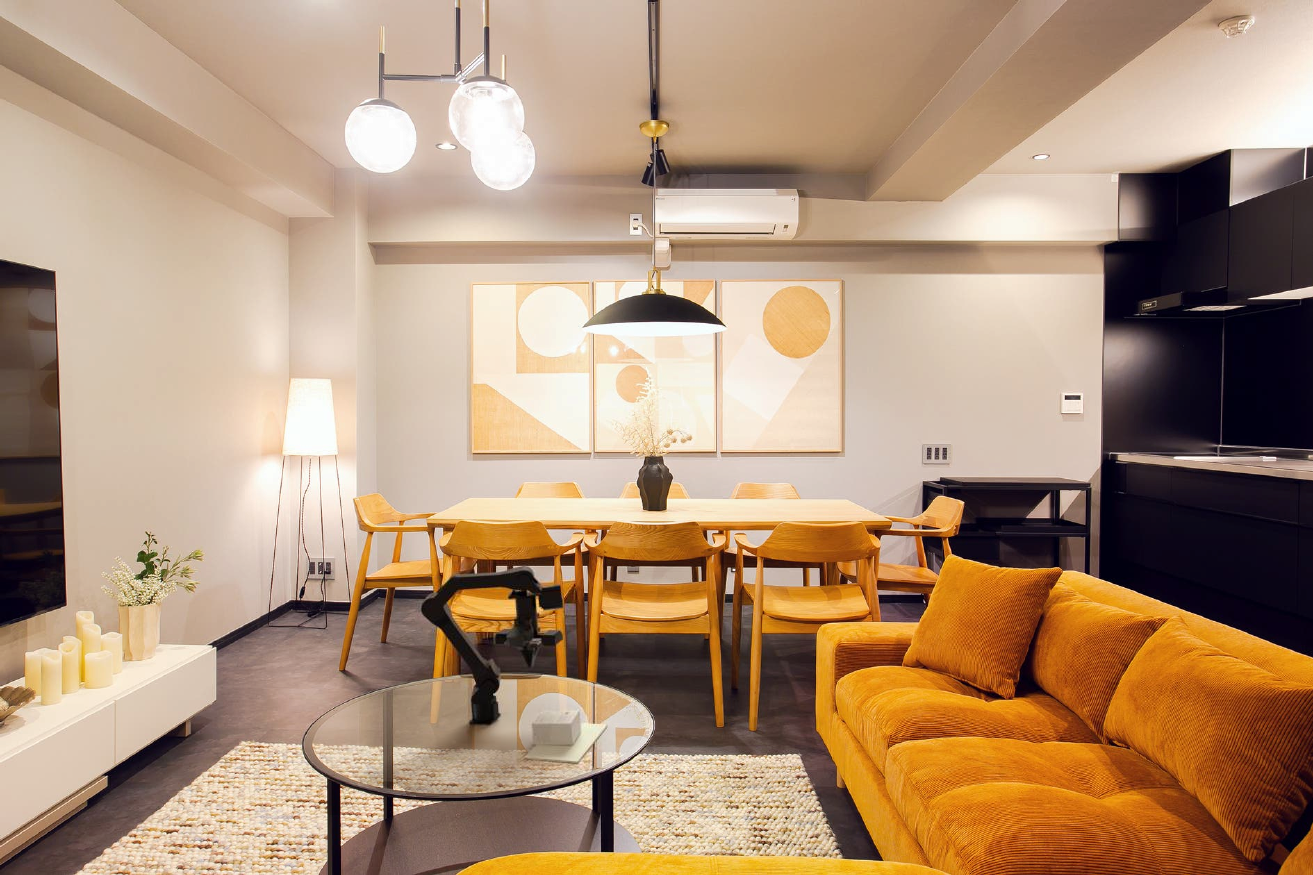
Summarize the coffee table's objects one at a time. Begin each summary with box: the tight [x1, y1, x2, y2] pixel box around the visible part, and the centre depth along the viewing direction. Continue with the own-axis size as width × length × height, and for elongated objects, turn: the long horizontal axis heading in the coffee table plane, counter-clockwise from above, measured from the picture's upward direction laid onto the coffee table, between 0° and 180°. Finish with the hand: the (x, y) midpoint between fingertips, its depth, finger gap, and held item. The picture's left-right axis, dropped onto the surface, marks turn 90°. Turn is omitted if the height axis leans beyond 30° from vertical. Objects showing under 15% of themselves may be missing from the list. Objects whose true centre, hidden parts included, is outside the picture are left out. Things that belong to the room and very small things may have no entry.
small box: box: [531, 710, 582, 746], centre depth 182 cm, size 8×6×10 cm
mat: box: [524, 722, 609, 764], centre depth 181 cm, size 14×20×1 cm
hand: (530, 667), depth 200 cm, fingers closed
